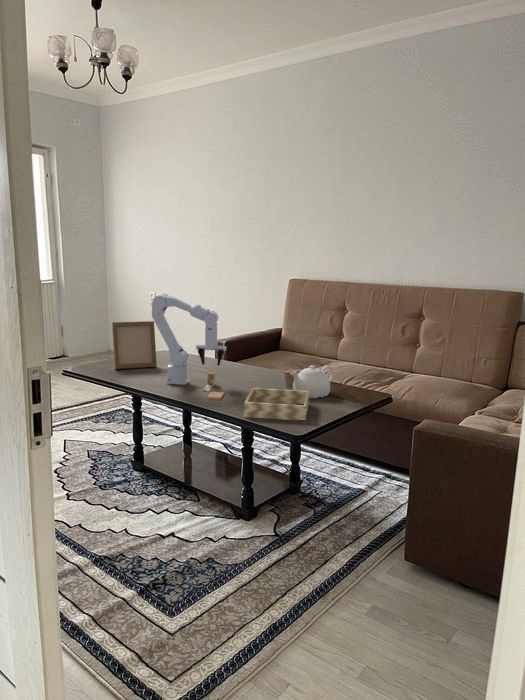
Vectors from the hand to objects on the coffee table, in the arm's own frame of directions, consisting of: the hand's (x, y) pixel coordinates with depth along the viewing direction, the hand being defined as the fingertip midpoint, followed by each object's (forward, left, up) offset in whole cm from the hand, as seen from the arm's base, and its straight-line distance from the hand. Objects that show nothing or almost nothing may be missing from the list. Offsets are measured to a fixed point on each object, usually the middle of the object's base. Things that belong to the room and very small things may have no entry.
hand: (211, 364), depth 262 cm
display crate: (+36, -35, -10) cm, 52 cm away
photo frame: (-50, +29, -10) cm, 58 cm away
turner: (0, -6, -10) cm, 12 cm away
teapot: (+49, -6, -10) cm, 51 cm away
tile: (+7, -16, -10) cm, 20 cm away
